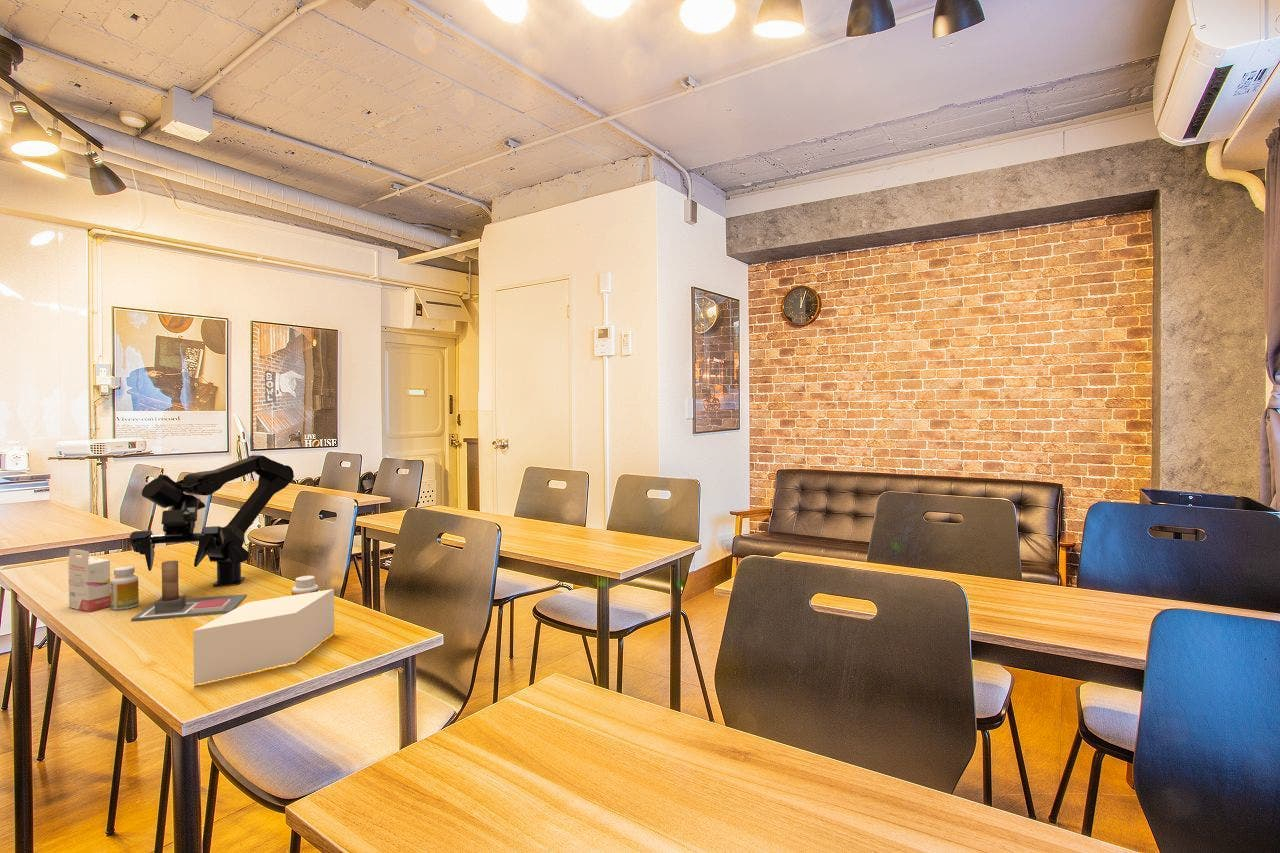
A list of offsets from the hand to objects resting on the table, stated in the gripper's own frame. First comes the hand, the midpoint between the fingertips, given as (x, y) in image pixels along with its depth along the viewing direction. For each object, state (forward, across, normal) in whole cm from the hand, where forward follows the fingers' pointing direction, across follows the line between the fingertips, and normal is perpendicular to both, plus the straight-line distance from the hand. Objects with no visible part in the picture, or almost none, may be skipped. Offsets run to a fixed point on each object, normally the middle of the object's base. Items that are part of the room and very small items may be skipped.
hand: (172, 568), depth 154 cm
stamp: (+8, 0, +6) cm, 10 cm away
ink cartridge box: (0, -19, +15) cm, 24 cm away
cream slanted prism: (+38, +25, -23) cm, 51 cm away
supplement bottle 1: (+2, -11, +12) cm, 17 cm away
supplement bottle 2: (+23, +30, -8) cm, 39 cm away
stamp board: (+8, +4, +7) cm, 11 cm away
